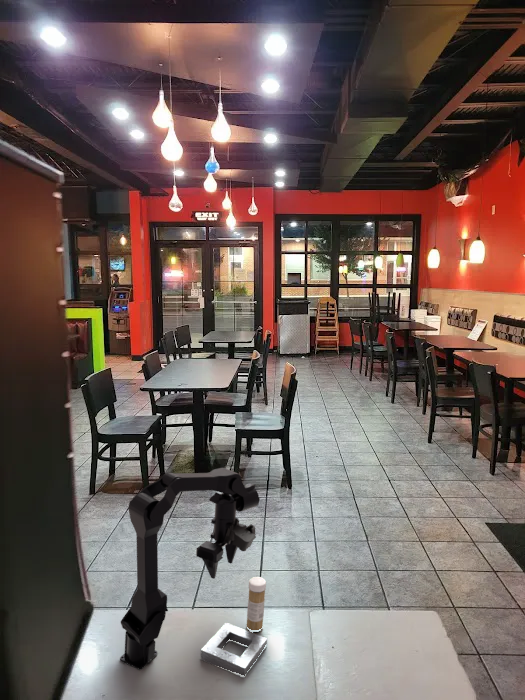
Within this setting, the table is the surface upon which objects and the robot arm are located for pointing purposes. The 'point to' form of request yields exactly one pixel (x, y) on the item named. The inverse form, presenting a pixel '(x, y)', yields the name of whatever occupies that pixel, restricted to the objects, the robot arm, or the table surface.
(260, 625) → the sprinkles bottle
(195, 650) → the table surface
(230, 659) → the metal collar
